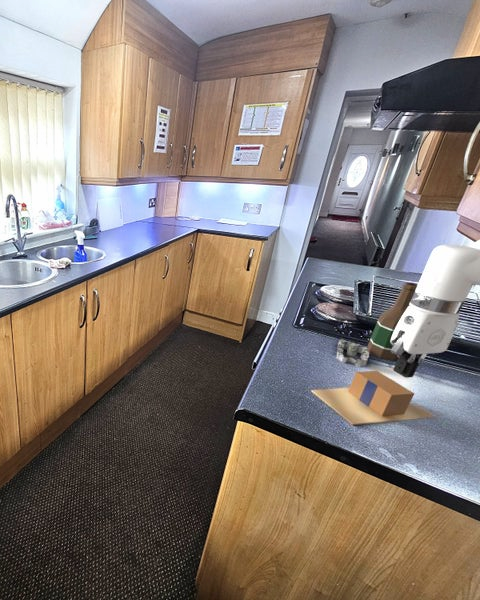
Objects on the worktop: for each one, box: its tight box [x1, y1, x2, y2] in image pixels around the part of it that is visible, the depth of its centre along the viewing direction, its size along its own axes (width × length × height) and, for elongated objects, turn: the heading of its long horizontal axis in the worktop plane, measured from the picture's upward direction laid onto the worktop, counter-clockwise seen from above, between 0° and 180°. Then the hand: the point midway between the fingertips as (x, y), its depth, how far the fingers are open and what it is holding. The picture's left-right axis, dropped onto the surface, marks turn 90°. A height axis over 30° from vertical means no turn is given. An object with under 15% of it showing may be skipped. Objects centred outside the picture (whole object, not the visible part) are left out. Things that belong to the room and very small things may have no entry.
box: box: [348, 370, 415, 416], centre depth 79 cm, size 6×9×6 cm
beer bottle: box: [366, 282, 418, 362], centre depth 96 cm, size 8×8×24 cm
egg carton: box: [335, 338, 370, 368], centre depth 98 cm, size 11×8×4 cm
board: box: [310, 387, 438, 426], centre depth 80 cm, size 22×12×1 cm, turn 97°
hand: (402, 373), depth 77 cm, fingers closed
